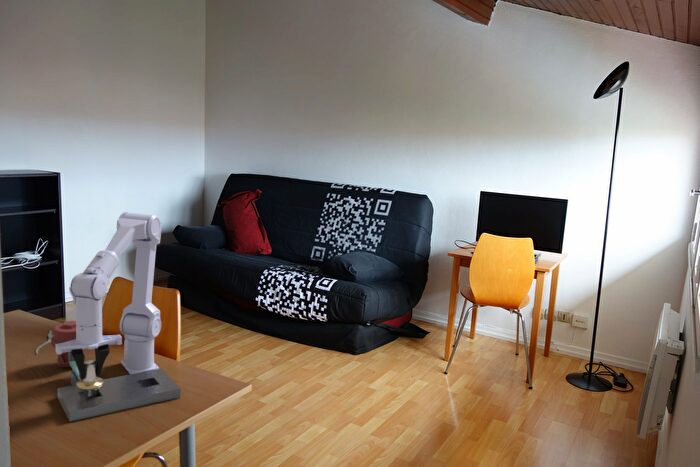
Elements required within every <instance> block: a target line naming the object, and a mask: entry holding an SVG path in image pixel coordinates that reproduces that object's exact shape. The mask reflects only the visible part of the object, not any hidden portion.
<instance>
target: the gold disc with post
mask: <svg viewBox="0 0 700 467" xmlns="http://www.w3.org/2000/svg"><path fill="white" fill-rule="evenodd" d="M84 373H85V379H83V380H79V381H78V382H77V388H78V389H80V390H84V396H94V395H96V394H97V389H98V388H100V387H102V386H103V384H104V381H103V379H104V378H102V377H100V376H99V377H97V362H96V360H89V359H88V360H86V361H85V360H84Z"/></svg>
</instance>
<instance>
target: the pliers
mask: <svg viewBox="0 0 700 467" xmlns="http://www.w3.org/2000/svg"><path fill="white" fill-rule="evenodd" d="M53 336H54V332H53V331H52V330H51V329H50V330H49V332H48V333H47V337H48V338H47V340H46V341H44V342H43V343H42V344H40V345H39V346H37V348H36V349H35V351H34V352H35V355H36V356H39V350H40V349H41V348H43V347H45V346H47V345H49V344H51V338H52V337H53Z"/></svg>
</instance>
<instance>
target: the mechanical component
mask: <svg viewBox="0 0 700 467" xmlns="http://www.w3.org/2000/svg"><path fill="white" fill-rule="evenodd" d="M53 335H54V336H53V337H52V338H51V342H50V345H51V346H52V347H53V348H55V349H56V344H60V343H64V342H67V341H71V340H75V339H76V320H67V321H64V322H63V323H59V324H56V325H54V328H53ZM85 350H86V349H83V350H82V351H83V354H84V355H85V356H86V353H85ZM85 360H86V358H85V359H84V361H85ZM56 361H57V363H58V364H57V365H58V367H59V368H72V367H71V366H70V364H69V359H68V352H64V353H62V354H58V355H57V360H56Z"/></svg>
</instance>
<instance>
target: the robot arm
mask: <svg viewBox="0 0 700 467" xmlns="http://www.w3.org/2000/svg"><path fill="white" fill-rule="evenodd" d="M162 226H163V225H162V221H161V219H160V217H159V216H158V215H157V214H144V213H136V212H128V211H124V212H122V213H121V214H120V215H119V216H118V219H117V220H116V231H115V233H114V234H113V236H112V238H111V240H110V241H109V243H108V245H107V246H106V248H105V249H104V250H100V251H98V252H96V254H95V256H94V257H93V258H92V260H91V261H90V262H89V264H88V265H87V267H86V268H85V269H84V270H83V272H80V273H78V274H76V275H74V276H73V278H72V279H71V281H70V287H69V293H70V295H71V296H72V303H73V304H74V305H75V321H76V339H75V340H71V341H67V342H64V343H60V344H56V348H55V353H56V355H57V356H58V354H62V353H64V352H70V353H71V354H72V356H73V358H74V360H75V362H76V365H77V367H78V371H79V376H80V378H81V380H83V379H85V373H84V362H85V360H86V354H85V355H84V354H83V351H82V350H83V349H85V350H93V349H94V355H95V356H94V357H95V361H96V362H97V377H99V378H100V377H101V376H102V370H103V367H104V363H105V361H106V359H107V357H108V356H109V354H110V351H111V349H110V347H109V346H113V345H117V346H119V345H122V344H123V338H124V344H123V345H124V346H123V348H124V349H123V351H124V352H123V353H124V356H123V360H121V361H120V364H121V365H122V366H123V367H124V369H125V370H126V371H127V372H128V375H130V374H135V373H141V372H146V371H151V370H157V369H160V366H158V364H156V363H155V338H156V337H158V336H159V334H160V332H161V329H162V321H161V310H160V309H159V308H158V307H157V306H156V305H155V304H153V303H152V300H153V299H152V298H153V297H152V296H153V286H154V278H155V277H154V276H155V266H156V265H155V263H156V255H157V254H156V252H157V245H159V244H160V243H161V239H162V238H161V236H162ZM131 243H133V244H134V246H135V247H136V252H135V264H134V272H133V274H134V276H133V285H132V298H131V303H130V304H128V305H127V306H125V307H124V308H123V310H122V315H121V318H120V319H119V320H120V321H119V330H120V332H121V334H122V335H124V337H123V338H122V336H121V334H113V335H103V298H104V297H105V295H106V293H107V290H108V287H109V284H110V278H111V276H112V275H113V274H114V273H115V271H116V270H117V268H118V267H119V265H120V261H119V257H120V256H121V255H122V253H124V252H125V250H126V249H127V248H128V247H129V245H130V244H131ZM84 359H85V360H84Z"/></svg>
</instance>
